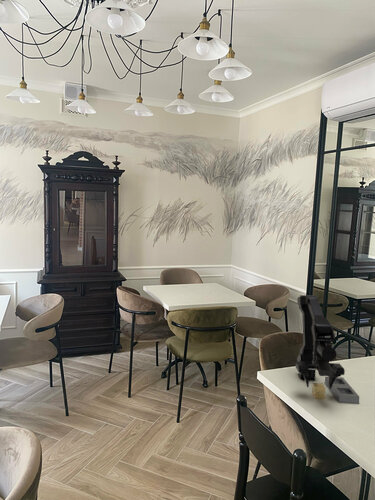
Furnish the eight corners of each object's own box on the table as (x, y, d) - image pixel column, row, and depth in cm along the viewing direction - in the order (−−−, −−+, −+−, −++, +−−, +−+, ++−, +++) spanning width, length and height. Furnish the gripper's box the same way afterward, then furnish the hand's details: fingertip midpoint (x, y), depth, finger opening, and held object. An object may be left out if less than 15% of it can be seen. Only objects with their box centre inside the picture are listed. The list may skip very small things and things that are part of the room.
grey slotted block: (338, 402, 145) (339, 395, 145) (324, 382, 163) (325, 376, 163) (358, 403, 145) (359, 396, 145) (342, 383, 163) (342, 377, 163)
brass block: (314, 398, 149) (315, 387, 148) (312, 394, 153) (312, 382, 152) (324, 399, 148) (325, 387, 148) (321, 394, 152) (322, 383, 152)
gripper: (303, 358, 142) (301, 395, 143) (350, 360, 140) (348, 398, 142) (296, 348, 153) (294, 383, 154) (340, 350, 151) (338, 385, 153)
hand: (318, 387), depth 150 cm, fingers open, 9 cm apart
